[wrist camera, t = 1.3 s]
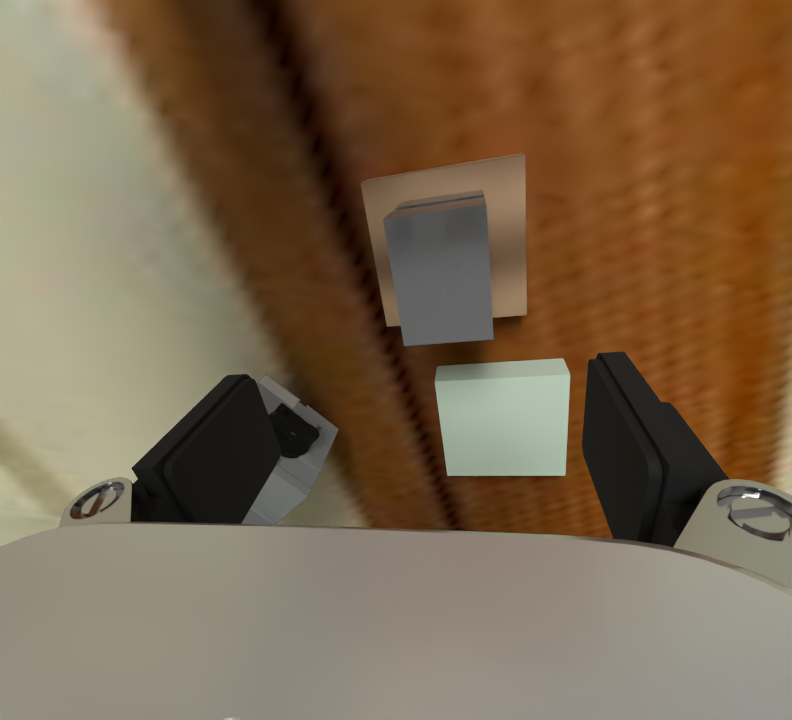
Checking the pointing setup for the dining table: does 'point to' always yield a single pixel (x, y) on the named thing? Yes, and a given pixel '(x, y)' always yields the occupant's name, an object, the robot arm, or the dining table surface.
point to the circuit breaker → (290, 453)
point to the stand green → (504, 417)
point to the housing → (441, 268)
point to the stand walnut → (503, 216)
